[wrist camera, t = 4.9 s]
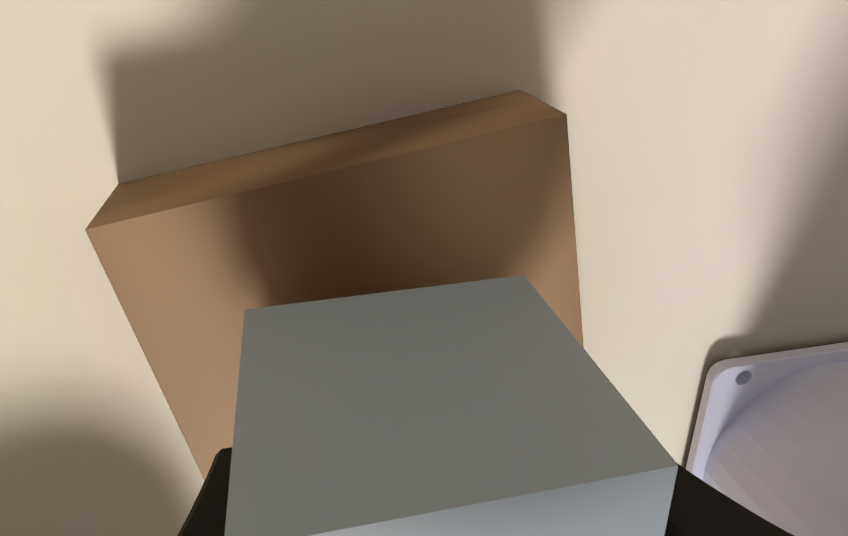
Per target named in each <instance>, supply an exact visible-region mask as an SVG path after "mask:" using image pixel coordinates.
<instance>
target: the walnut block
mask: <svg viewBox="0 0 848 536" xmlns="http://www.w3.org/2000/svg"><path fill="white" fill-rule="evenodd" d="M85 230H86V232H87V235H88V237H89V239H90V241H91V243H92V245H93V247H94V249H95V251H96V253H97V256H98V258H99V260H100V262H101V264H102V266H103V268H104V270H105V272H106V274H107V277H108V279H109V281H110V283H111V285H112V287H113V289H114V291H115V293H116V295H117V297H118V300H119V302H120V304H121V306H122V308H123V310H124V312H125V314H126V316H127V318H128V321H129V323H130V325H131V327H132V329H133V331H134V333H135V335H136V337H137V339H138V342H139V344H140V346H141V348H142V350H143V352H144V354H145V356H146V358H147V360H148V362H149V365H150V367H151V369H152V371H153V373H154V375H155V377H156V379H157V381H158V383H159V386H160V388H161V390H162V392H163V394H164V396H165V398H166V400H167V402H168V404H169V407H170V409H171V411H172V413H173V415H174V417H175V419H176V421H177V423H178V425H179V427H180V430H181V432H182V434H183V436H184V438H185V440H186V442H187V444H188V446H189V448H190V451H191V453H192V455H193V457H194V459H195V461H196V463H197V465H198V467H199V469H200V472H201V474H202V476H203V478H204V480H205V479H206V477H207V475H208V472H209V470H210V468H211V465H212V463H213V460H214V458H215V455H216V454H217V453H218V452H219V451H220V450H221V449H223V448H230V447H232V445H233V434H234V423H235V412H236V401H237V389H238V378H239V367H240V356H241V345H242V333H243V322H244V311H245V309H253V308H261V307H269V306H277V305H285V304H293V303H301V302H309V301H318V300H326V299H334V298H342V297H350V296H358V295H366V294H374V293H382V292H390V291H398V290H406V289H415V288H423V287H431V286H439V285H447V284H455V283H463V282H471V281H479V280H487V279H495V278H503V277H512V276H520V275H524V276H525V277H526V278H527V279H528V281H529V282H530V283H531V284H532V286H533V287H534V288H535V289H536V291H537V292H538V293H539V294H540V295H541V297H542V298H543V299H544V300H545V302H546V303H547V304H548V305H549V307H550V308H551V309H552V310H553V312H554V313H555V314H556V315H557V316H558V318H559V319H560V320H561V321H562V323H563V324H564V325H565V326H566V328H567V329H568V330H569V331H570V333H571V334H572V335H573V336H574V337H575V339H576V340H577V341H578V342H579V344H580V345H581V346H582V347H583V334H582V321H581V307H580V293H579V280H578V266H577V252H576V238H575V225H574V211H573V197H572V184H571V170H570V156H569V142H568V129H567V115H566V114H565V113H563V112H561V111H559V110H557V109H555V108H554V107H552V106H550V105H548V104H546V103H544V102H542V101H540V100H538V99H536V98H534V97H532V96H530V95H528V94H526V93H525V92H523V91H521V90H519V91H514V92H510V93H506V94H502V95H497V96H493V97H489V98H485V99H480V100H476V101H472V102H468V103H463V104H459V105H455V106H450V107H446V108H442V109H438V110H433V111H429V112H425V113H421V114H416V115H412V116H408V117H404V118H399V119H395V120H391V121H386V122H382V123H378V124H374V125H369V126H365V127H361V128H357V129H352V130H348V131H344V132H340V133H335V134H331V135H327V136H322V137H318V138H314V139H310V140H305V141H301V142H297V143H293V144H288V145H284V146H280V147H276V148H271V149H267V150H263V151H258V152H254V153H250V154H246V155H241V156H237V157H233V158H229V159H224V160H220V161H216V162H212V163H207V164H203V165H199V166H194V167H190V168H186V169H182V170H177V171H173V172H169V173H165V174H160V175H156V176H152V177H148V178H143V179H139V180H135V181H130V182H126V183H122V184H118V186H117V187H116V188H115V190H114V191H113V192H112V194H111V195H110V196H109V198H108V199H107V201H106V202H105V203H104V205H103V206H102V207H101V209H100V210H99V211H98V213H97V214H96V216H95V217H94V218H93V220H92V221H91V222H90V224H89V225H88V227H87V228H86V229H85ZM583 349H584V348H583Z"/></svg>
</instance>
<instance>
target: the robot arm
mask: <svg viewBox="0 0 848 536" xmlns="http://www.w3.org/2000/svg"><path fill="white" fill-rule="evenodd" d="M738 374H739V375H738ZM737 375H738V376H737ZM231 456H232V447H230V448H223V449H221V450H220V451H219V452H218V453H217V454H216V455H215V458H214V460H213V463H212V465H211V468H210V470H209V472H208V475H207V477H206V479H205V481H204V484H203V486H202V488H201V490H200V492H199V494H198V497H197V499H196V501H195V503H194V505H193V507H192V509H191V511H190V513H189V515H188V517H187V519H186V521H185V523H184V524H183V526H182V528H181V530H180V532H179V534H178V536H224V535H225V524H226V512H227V501H228V490H229V479H230V468H231ZM677 465H678V470H677V475H676V480H675V485H674V490H673V495H672V500H671V505H670V510H669V515H668V520H667V525H666V530H665V535H664V536H848V342H843V343H836V344H829V345H822V346H815V347H809V348H802V349H795V350H788V351H781V352H774V353H767V354H760V355H753V356H746V357H739V358H732V359H726V360H722V361H719V362H717V363H715V364H714V365H713V366H712V367H711V368H710V369H709V371H708V374H707V376H706V381H705V385H704V390H703V394H702V398H701V403H700V407H699V412H698V416H697V421H696V425H695V429H694V434H693V438H692V443H691V447H690V452H689V456H688V460H687V465H686V469H685V468H683V467H682V466H680V465H679V464H677Z"/></svg>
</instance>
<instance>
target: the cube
mask: <svg viewBox="0 0 848 536" xmlns="http://www.w3.org/2000/svg"><path fill="white" fill-rule="evenodd" d="M677 470H678V465H677V463H676V462H675V461H674V460H673V458H672V457H671V456H670V455H669V453H668V452H667V451H666V450H665V448H664V447H663V446H662V445H661V444H660V442H659V441H658V440H657V439H656V437H655V436H654V435H653V434H652V432H651V431H650V430H649V429H648V427H647V426H646V425H645V424H644V423H643V421H642V420H641V419H640V418H639V416H638V415H637V414H636V413H635V411H634V410H633V409H632V408H631V407H630V405H629V404H628V403H627V402H626V400H625V399H624V398H623V397H622V395H621V394H620V393H619V392H618V390H617V389H616V388H615V387H614V386H613V384H612V383H611V382H610V381H609V379H608V378H607V377H606V376H605V374H604V373H603V372H602V371H601V370H600V368H599V367H598V366H597V365H596V363H595V362H594V361H593V360H592V358H591V357H590V356H589V355H588V353H587V352H586V351H585V350H584V349H583V347H582V346H581V345H580V344H579V342H578V341H577V340H576V339H575V337H574V336H573V335H572V334H571V333H570V331H569V330H568V329H567V328H566V326H565V325H564V324H563V323H562V321H561V320H560V319H559V318H558V316H557V315H556V314H555V313H554V312H553V310H552V309H551V308H550V307H549V305H548V304H547V303H546V302H545V300H544V299H543V298H542V297H541V295H540V294H539V293H538V292H537V291H536V289H535V288H534V287H533V286H532V284H531V283H530V282H529V281H528V279H527V278H526V277H525V276H524V275H520V276H512V277H503V278H495V279H487V280H479V281H471V282H463V283H455V284H447V285H439V286H431V287H423V288H415V289H406V290H398V291H390V292H382V293H374V294H366V295H358V296H350V297H342V298H334V299H326V300H318V301H309V302H301V303H293V304H285V305H277V306H269V307H261V308H253V309H245V311H244V322H243V333H242V345H241V356H240V367H239V378H238V389H237V401H236V412H235V423H234V434H233V445H232V456H231V468H230V479H229V490H228V501H227V512H226V524H225V535H224V536H664V535H665V530H666V525H667V520H668V515H669V510H670V505H671V500H672V495H673V490H674V485H675V480H676V475H677Z"/></svg>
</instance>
